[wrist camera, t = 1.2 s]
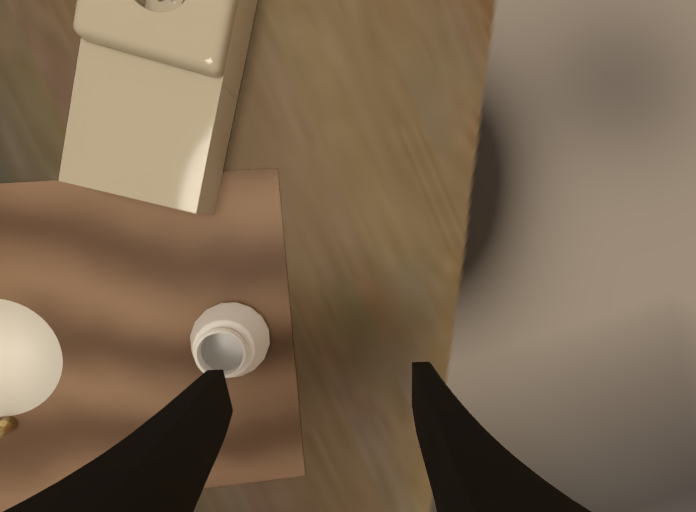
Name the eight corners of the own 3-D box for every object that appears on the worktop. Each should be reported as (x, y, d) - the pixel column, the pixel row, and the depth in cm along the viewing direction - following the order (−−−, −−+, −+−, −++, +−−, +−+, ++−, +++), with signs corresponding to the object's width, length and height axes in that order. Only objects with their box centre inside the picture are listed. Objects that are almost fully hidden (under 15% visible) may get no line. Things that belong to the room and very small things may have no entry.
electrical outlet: (43, 178, 17) (104, -216, 15) (97, 186, 21) (150, -124, 19) (189, 213, 17) (262, -158, 16) (214, 214, 21) (274, -81, 20)
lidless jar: (268, 298, 22) (191, 302, 22) (260, 311, 19) (172, 316, 19) (272, 368, 23) (198, 374, 23) (265, 391, 20) (180, 397, 20)
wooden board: (305, 465, 25) (304, 492, 23) (-97, 514, 23) (-147, 550, 21) (279, 170, 22) (274, 165, 20) (-181, 195, 20) (-250, 193, 18)
